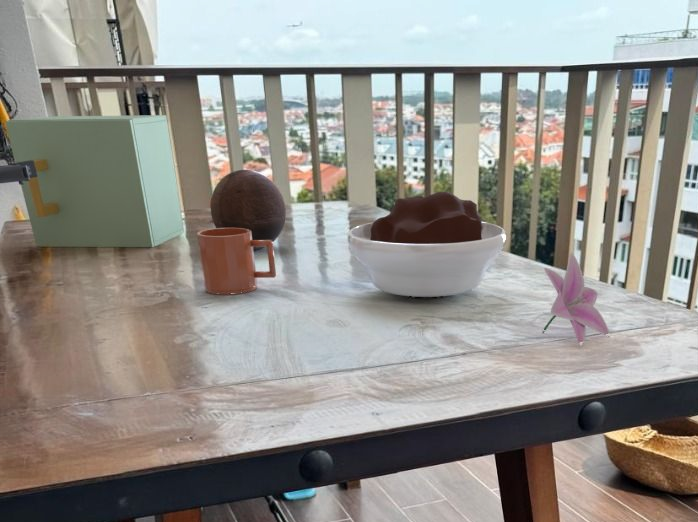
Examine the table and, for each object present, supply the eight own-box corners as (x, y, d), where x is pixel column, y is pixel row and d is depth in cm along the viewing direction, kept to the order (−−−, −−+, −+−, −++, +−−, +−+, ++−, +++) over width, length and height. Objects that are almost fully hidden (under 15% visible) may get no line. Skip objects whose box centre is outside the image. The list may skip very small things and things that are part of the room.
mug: (199, 295, 123) (191, 236, 119) (212, 283, 131) (204, 227, 126) (273, 294, 123) (267, 236, 118) (281, 282, 130) (275, 227, 126)
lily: (531, 360, 96) (575, 297, 89) (498, 303, 102) (536, 241, 96) (599, 374, 102) (644, 316, 96) (563, 319, 108) (603, 262, 102)
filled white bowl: (388, 320, 109) (385, 207, 101) (328, 285, 128) (322, 188, 120) (533, 300, 118) (541, 195, 110) (456, 270, 137) (459, 179, 129)
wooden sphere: (303, 248, 157) (297, 168, 150) (247, 259, 148) (237, 175, 140) (258, 240, 166) (249, 164, 158) (201, 250, 156) (190, 170, 148)
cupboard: (154, 247, 161) (132, 118, 148) (39, 246, 163) (8, 119, 151) (184, 232, 176) (166, 115, 163) (79, 232, 178) (53, 116, 166)
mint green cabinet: (140, 253, 154) (116, 121, 142) (20, 252, 156) (-14, 122, 144) (154, 246, 160) (131, 119, 148) (38, 245, 163) (7, 120, 150)
